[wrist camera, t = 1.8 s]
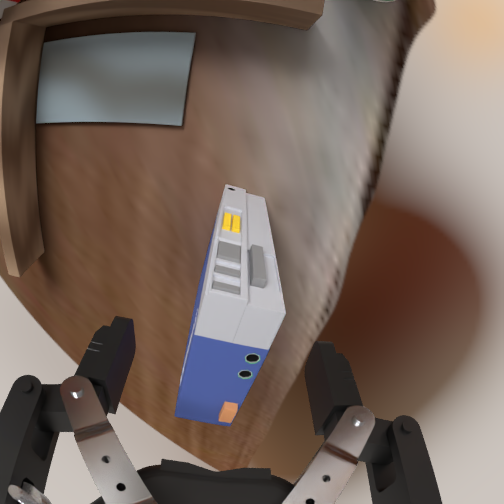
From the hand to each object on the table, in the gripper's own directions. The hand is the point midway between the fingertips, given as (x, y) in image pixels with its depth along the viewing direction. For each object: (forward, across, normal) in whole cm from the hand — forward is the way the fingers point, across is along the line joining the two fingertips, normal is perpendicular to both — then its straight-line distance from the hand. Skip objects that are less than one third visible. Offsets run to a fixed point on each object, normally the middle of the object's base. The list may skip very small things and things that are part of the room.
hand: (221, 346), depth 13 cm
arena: (+10, +7, -7) cm, 14 cm away
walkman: (+10, 0, 0) cm, 10 cm away
